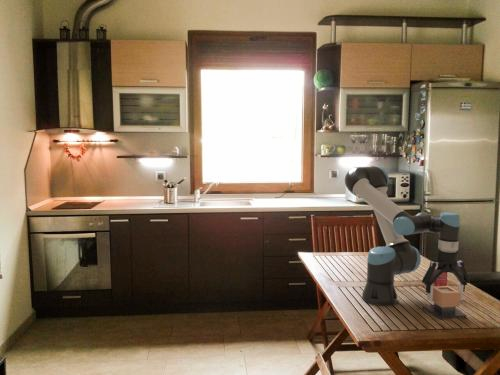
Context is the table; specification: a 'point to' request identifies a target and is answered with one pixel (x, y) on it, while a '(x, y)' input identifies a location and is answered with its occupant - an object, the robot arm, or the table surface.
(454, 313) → the post stand
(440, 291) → the collar
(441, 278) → the soda can
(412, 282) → the table surface
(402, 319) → the table surface
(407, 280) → the table surface
